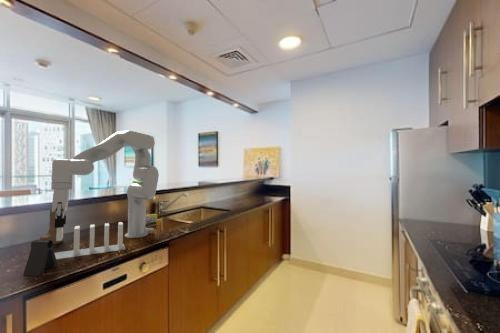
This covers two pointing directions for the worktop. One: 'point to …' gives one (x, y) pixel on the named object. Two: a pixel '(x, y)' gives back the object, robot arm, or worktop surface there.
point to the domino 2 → (76, 240)
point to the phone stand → (40, 258)
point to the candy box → (151, 220)
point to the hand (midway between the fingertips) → (60, 225)
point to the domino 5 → (120, 235)
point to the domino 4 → (106, 237)
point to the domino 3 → (92, 238)
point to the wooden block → (52, 230)
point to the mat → (86, 251)
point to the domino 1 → (59, 234)
